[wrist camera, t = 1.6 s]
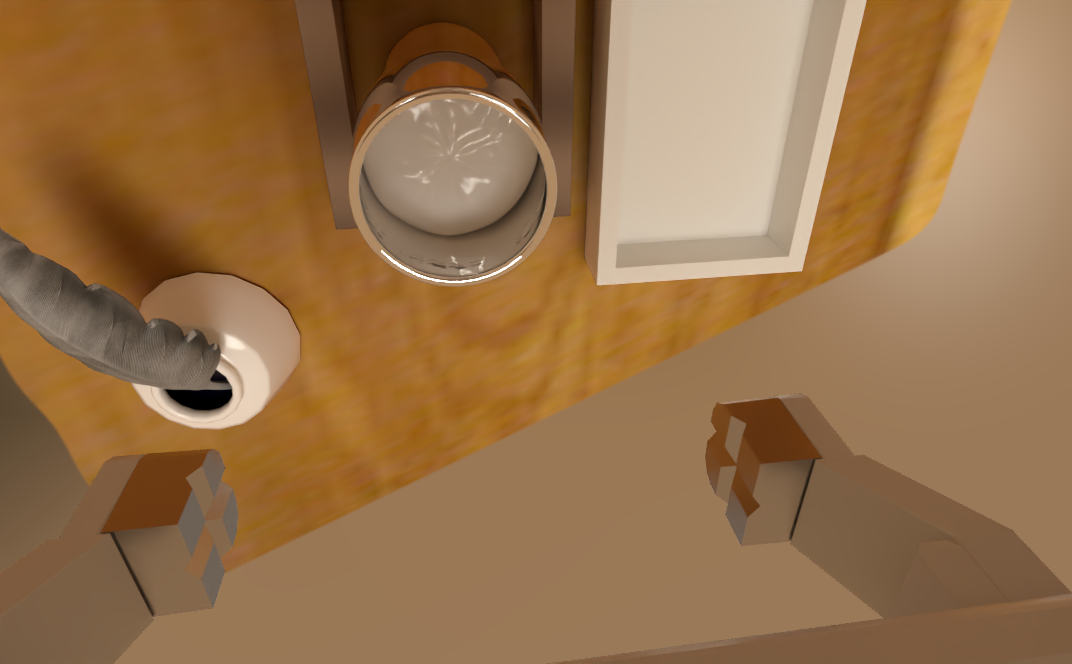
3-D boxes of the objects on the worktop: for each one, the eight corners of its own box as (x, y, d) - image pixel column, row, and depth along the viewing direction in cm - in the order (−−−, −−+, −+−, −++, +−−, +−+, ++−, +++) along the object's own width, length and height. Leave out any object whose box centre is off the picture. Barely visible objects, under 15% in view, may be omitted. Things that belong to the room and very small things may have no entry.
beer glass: (346, 97, 33) (296, 213, 20) (430, -23, 31) (431, 25, 18) (457, 181, 36) (473, 327, 23) (541, 78, 34) (608, 179, 21)
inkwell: (206, 421, 42) (151, 547, 34) (-37, 176, 33) (-198, 268, 24) (332, 364, 41) (308, 480, 33) (121, 93, 31) (10, 159, 23)
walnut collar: (298, -48, 29) (286, -44, 27) (564, -52, 31) (577, -48, 28) (342, 206, 36) (335, 229, 33) (560, 195, 37) (570, 215, 35)
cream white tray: (596, -52, 31) (614, -48, 28) (837, -55, 32) (878, -51, 29) (584, 257, 40) (596, 285, 37) (775, 245, 41) (801, 271, 38)
